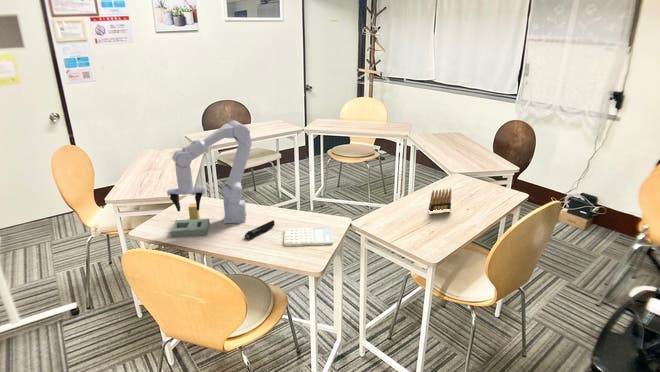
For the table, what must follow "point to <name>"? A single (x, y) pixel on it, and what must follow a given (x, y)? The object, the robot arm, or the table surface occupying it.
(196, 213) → the square peg
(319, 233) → the calculator
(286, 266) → the table surface
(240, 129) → the robot arm
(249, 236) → the electric trimmer
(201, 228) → the socket plate
